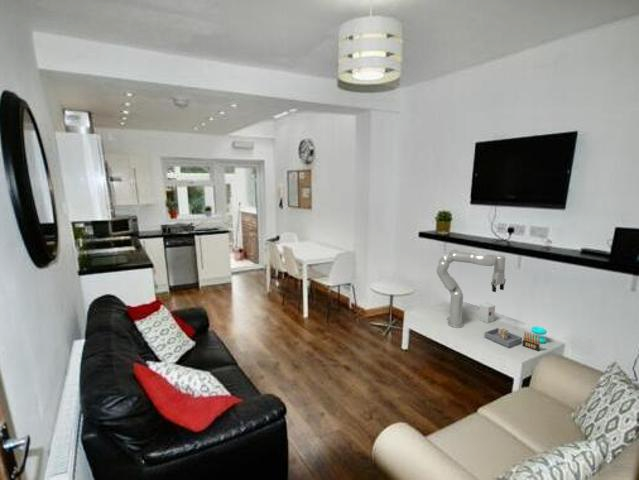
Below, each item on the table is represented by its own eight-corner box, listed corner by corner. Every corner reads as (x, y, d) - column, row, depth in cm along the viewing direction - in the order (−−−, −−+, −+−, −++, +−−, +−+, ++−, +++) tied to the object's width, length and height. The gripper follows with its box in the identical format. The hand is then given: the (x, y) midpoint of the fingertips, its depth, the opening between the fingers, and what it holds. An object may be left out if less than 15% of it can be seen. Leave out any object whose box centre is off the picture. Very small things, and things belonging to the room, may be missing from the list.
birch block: (498, 338, 260) (498, 328, 258) (501, 337, 262) (502, 327, 260) (503, 340, 256) (504, 331, 254) (507, 339, 258) (507, 329, 256)
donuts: (542, 326, 259) (549, 331, 249) (541, 338, 260) (548, 344, 251) (528, 325, 260) (534, 331, 251) (527, 337, 262) (533, 343, 252)
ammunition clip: (522, 346, 249) (523, 331, 247) (523, 345, 250) (524, 330, 248) (538, 351, 241) (539, 335, 239) (539, 350, 242) (540, 335, 240)
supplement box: (487, 323, 289) (488, 307, 286) (478, 319, 297) (479, 304, 294) (494, 321, 293) (495, 305, 290) (485, 317, 301) (486, 302, 298)
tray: (484, 337, 264) (484, 332, 263) (497, 332, 271) (497, 327, 270) (508, 348, 246) (508, 342, 246) (521, 343, 254) (522, 337, 253)
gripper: (501, 268, 277) (500, 287, 280) (488, 271, 270) (486, 291, 273) (510, 270, 271) (508, 290, 274) (496, 273, 263) (495, 293, 266)
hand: (497, 290), depth 273 cm, fingers open, 9 cm apart
